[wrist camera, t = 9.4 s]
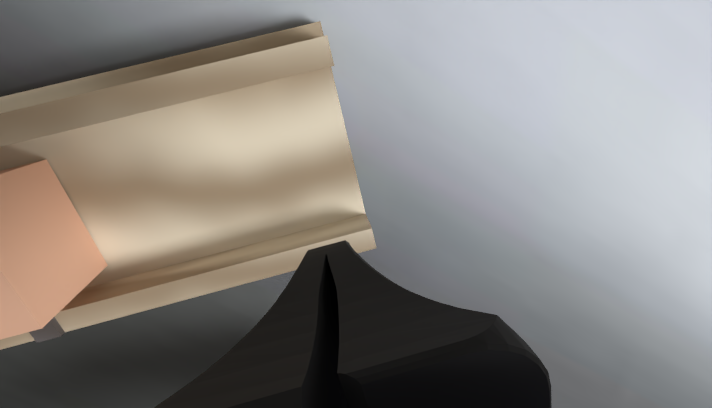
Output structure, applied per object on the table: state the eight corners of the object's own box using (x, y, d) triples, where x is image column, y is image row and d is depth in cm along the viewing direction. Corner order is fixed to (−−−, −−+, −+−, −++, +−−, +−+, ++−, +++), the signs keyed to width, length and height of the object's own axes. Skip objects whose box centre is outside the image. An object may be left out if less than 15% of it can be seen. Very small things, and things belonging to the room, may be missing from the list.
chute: (369, 236, 21) (380, 263, 18) (-25, 342, 20) (-84, 390, 17) (319, 24, 17) (322, 13, 14) (-189, 144, 16) (-307, 161, 13)
